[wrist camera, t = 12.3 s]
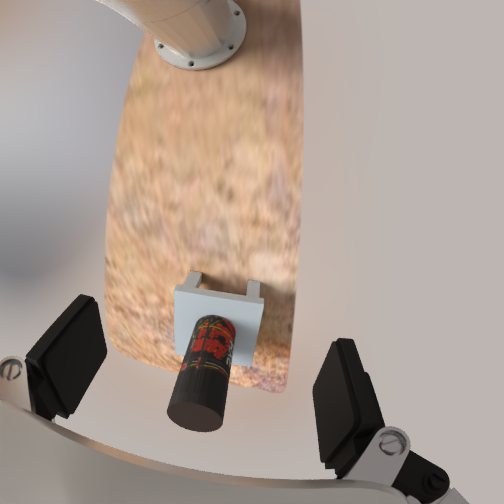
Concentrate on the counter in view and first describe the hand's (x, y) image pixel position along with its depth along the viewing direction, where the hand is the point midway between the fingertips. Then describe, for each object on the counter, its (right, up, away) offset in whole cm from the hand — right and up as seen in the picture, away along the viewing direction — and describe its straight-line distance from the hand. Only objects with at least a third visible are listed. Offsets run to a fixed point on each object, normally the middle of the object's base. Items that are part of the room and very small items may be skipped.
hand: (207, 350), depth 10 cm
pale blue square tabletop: (-3, -5, +35) cm, 36 cm away
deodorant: (-4, -7, +29) cm, 30 cm away
